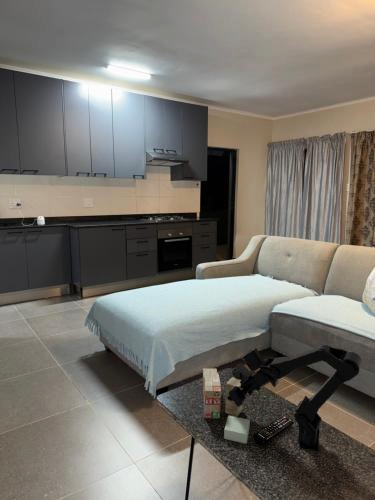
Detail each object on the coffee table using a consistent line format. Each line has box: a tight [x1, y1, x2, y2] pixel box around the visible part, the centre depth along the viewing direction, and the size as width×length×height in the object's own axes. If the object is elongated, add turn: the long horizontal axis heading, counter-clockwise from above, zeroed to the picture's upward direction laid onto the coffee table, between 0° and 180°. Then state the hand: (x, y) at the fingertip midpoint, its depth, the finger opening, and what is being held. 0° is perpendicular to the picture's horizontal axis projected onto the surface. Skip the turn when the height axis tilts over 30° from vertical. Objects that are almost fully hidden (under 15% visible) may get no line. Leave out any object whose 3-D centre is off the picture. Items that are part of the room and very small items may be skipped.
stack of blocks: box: [202, 367, 222, 419], centre depth 143 cm, size 21×6×12 cm, turn 179°
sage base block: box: [223, 414, 251, 444], centre depth 126 cm, size 8×8×4 cm
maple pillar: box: [224, 376, 243, 417], centre depth 137 cm, size 5×5×13 cm
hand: (231, 395), depth 138 cm, fingers open, 5 cm apart
